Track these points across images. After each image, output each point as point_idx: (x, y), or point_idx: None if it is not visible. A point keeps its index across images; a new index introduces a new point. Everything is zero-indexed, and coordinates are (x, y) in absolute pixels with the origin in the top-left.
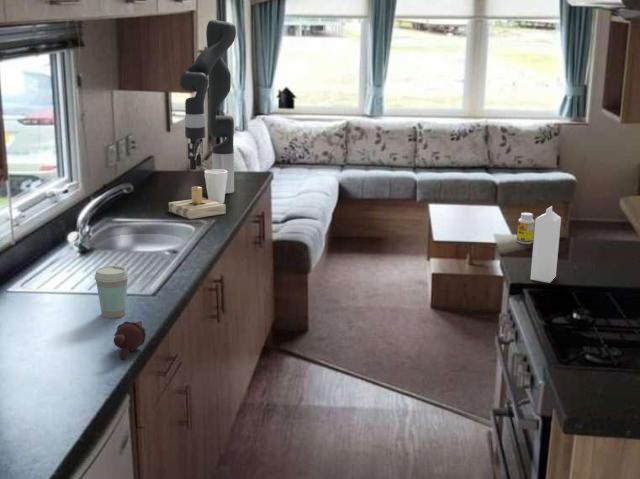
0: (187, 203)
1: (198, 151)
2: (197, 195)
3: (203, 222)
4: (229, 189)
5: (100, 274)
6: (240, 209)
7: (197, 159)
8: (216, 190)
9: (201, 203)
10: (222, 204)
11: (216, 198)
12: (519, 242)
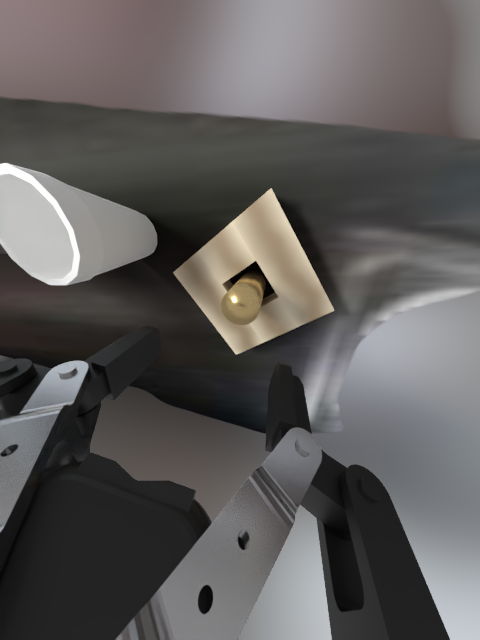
0: None
1: (217, 522)
2: (261, 297)
3: (381, 265)
4: None
5: None
6: (215, 137)
7: (128, 371)
8: (131, 231)
9: (256, 277)
10: (266, 201)
11: (147, 233)
12: None
